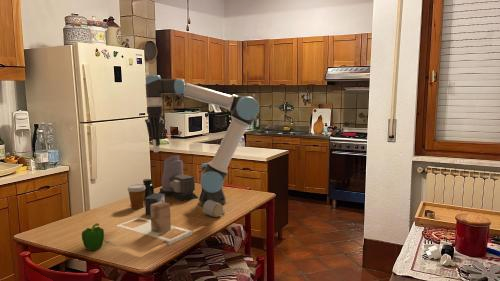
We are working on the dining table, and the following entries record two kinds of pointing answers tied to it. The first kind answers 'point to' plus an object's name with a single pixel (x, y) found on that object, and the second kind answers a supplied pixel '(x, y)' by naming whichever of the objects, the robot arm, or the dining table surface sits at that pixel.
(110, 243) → the dining table surface
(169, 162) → the juicer
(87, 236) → the bell pepper
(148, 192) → the supplement bottle
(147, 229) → the trap board
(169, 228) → the walnut block
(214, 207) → the ceramic mug
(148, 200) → the small box
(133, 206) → the disposable coffee cup
